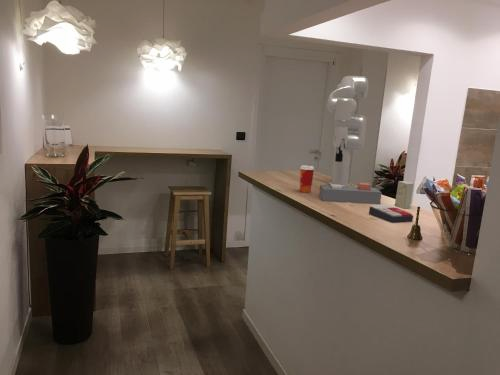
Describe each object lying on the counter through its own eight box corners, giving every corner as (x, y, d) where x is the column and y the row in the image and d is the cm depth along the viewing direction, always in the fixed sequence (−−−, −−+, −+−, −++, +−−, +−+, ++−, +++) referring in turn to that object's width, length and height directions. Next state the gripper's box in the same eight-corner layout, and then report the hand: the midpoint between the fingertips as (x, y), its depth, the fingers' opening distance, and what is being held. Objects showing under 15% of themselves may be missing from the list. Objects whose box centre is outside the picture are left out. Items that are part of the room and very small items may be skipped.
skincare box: (394, 205, 203) (397, 181, 200) (401, 205, 204) (404, 180, 202) (403, 208, 197) (406, 183, 195) (410, 208, 199) (414, 183, 196)
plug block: (319, 196, 215) (320, 184, 214) (372, 199, 215) (374, 187, 214) (323, 201, 203) (324, 189, 202) (380, 204, 203) (381, 192, 202)
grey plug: (329, 197, 211) (330, 184, 210) (338, 198, 212) (340, 184, 210) (330, 199, 207) (332, 185, 205) (340, 200, 207) (342, 186, 205)
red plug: (356, 196, 211) (358, 182, 210) (366, 196, 211) (368, 183, 210) (359, 198, 206) (360, 184, 205) (369, 198, 207) (370, 184, 205)
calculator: (393, 215, 168) (369, 204, 181) (391, 225, 169) (368, 214, 182) (414, 214, 172) (389, 203, 186) (412, 223, 173) (387, 213, 187)
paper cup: (301, 190, 229) (303, 164, 226) (314, 192, 225) (316, 166, 223) (295, 192, 222) (297, 166, 220) (308, 194, 218) (311, 167, 216)
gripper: (331, 123, 210) (328, 159, 213) (337, 124, 195) (334, 163, 199) (346, 123, 210) (342, 159, 213) (353, 125, 195) (349, 164, 199)
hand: (338, 161), depth 206 cm, fingers closed
